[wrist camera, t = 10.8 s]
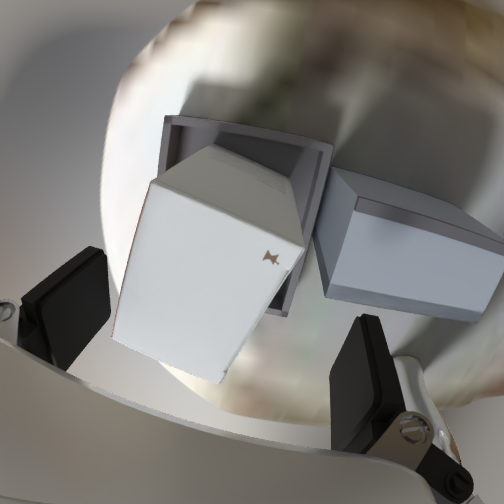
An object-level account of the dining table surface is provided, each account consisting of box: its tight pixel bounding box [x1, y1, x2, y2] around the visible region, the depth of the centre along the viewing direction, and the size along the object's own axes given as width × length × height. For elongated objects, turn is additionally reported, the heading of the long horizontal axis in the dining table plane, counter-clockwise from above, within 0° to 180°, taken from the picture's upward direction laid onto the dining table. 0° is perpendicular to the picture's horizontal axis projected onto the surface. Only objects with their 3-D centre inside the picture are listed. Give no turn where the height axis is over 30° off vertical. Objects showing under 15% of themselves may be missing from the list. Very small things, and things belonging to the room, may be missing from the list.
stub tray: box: [157, 115, 334, 317], centre depth 20 cm, size 10×12×2 cm
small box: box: [111, 143, 305, 384], centre depth 16 cm, size 8×6×10 cm
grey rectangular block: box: [312, 166, 504, 323], centre depth 16 cm, size 10×5×8 cm, turn 80°
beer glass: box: [393, 356, 462, 466], centre depth 20 cm, size 7×7×15 cm
